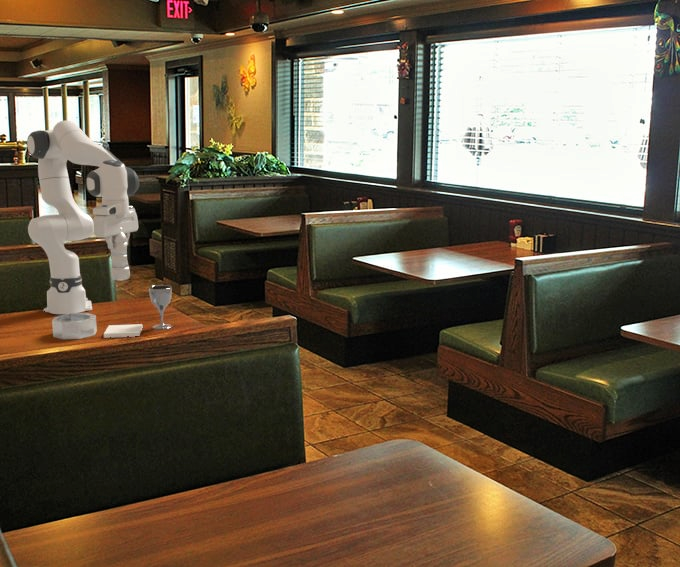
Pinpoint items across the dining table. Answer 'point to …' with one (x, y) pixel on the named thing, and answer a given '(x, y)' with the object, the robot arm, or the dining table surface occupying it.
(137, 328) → the ceramic pad
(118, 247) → the plastic bottle
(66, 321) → the steel collar
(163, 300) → the wine glass
